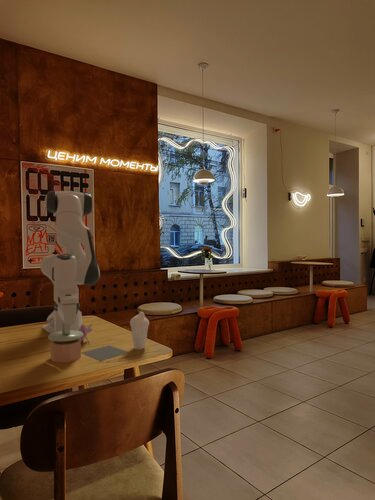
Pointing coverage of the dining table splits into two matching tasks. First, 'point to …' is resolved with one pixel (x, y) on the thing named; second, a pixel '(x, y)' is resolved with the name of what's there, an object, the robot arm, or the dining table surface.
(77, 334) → the lid
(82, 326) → the lily
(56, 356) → the bowl
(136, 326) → the soft serve ice cream cone
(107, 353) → the mat
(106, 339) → the dining table surface
